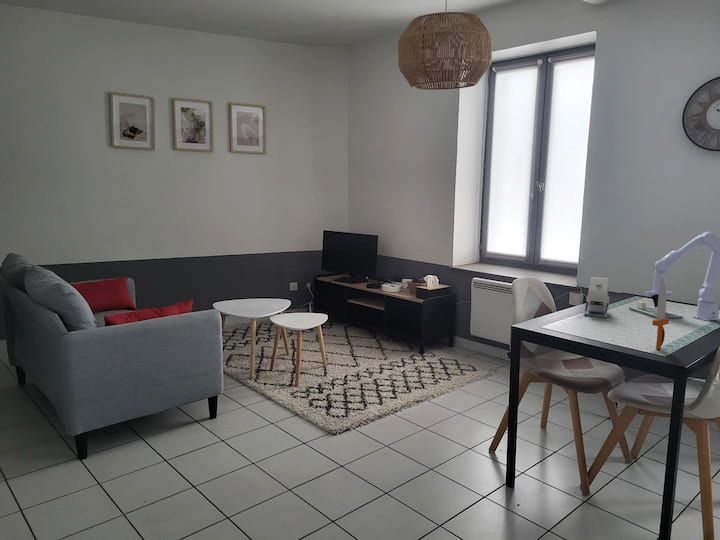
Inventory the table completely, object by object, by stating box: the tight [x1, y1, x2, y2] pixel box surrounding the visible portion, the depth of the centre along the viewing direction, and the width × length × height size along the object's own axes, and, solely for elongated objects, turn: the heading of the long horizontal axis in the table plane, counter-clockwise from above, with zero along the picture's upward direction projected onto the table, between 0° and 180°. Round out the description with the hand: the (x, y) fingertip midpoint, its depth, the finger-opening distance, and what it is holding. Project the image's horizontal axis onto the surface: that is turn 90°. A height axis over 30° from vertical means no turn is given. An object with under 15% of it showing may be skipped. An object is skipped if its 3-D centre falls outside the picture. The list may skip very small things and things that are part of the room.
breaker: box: [636, 300, 647, 309], centre depth 298 cm, size 4×2×4 cm
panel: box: [628, 306, 684, 320], centre depth 292 cm, size 23×14×1 cm, turn 9°
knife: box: [651, 277, 670, 350], centre depth 223 cm, size 8×2×30 cm, turn 126°
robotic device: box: [583, 276, 610, 319], centre depth 288 cm, size 10×21×20 cm
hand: (657, 308), depth 292 cm, fingers closed
